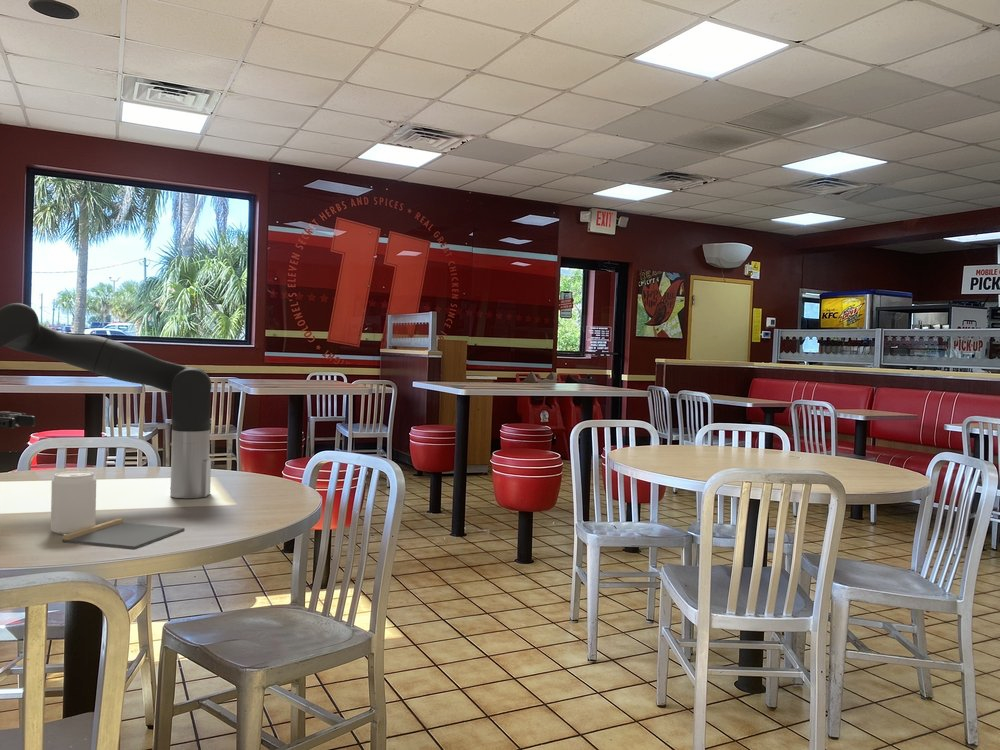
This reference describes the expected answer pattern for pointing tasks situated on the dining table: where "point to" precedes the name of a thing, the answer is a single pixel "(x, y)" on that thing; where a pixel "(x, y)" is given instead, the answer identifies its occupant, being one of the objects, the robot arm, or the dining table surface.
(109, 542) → the mat
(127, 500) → the dining table surface
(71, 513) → the beverage can
